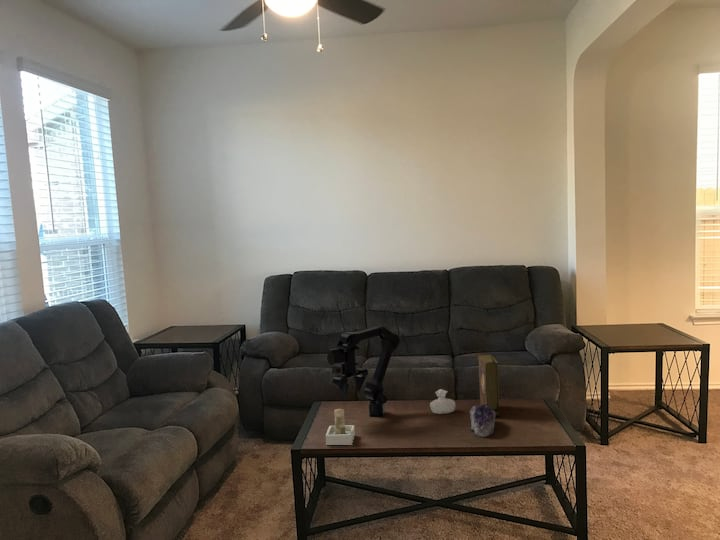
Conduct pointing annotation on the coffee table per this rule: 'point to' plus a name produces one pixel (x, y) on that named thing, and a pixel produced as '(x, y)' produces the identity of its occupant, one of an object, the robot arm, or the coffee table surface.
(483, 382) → the book
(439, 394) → the white rounded necked piece
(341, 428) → the peg
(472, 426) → the geode
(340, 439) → the bore box
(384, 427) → the coffee table surface
